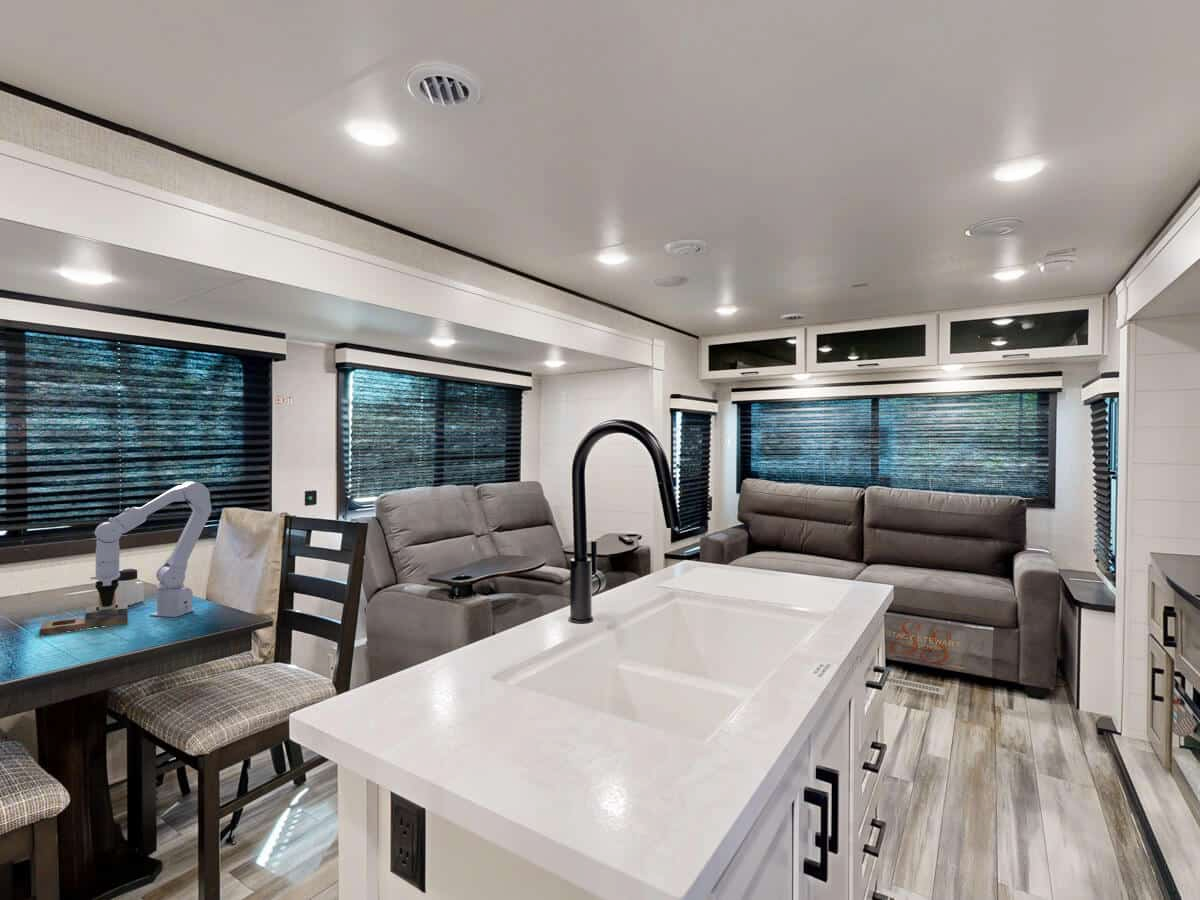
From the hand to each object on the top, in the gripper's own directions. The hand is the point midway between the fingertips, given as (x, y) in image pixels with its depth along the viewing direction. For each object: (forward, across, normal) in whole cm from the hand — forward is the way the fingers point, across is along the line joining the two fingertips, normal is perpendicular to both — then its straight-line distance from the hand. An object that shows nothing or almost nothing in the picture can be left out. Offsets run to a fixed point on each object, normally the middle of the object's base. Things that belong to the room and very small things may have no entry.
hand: (107, 604), depth 186 cm
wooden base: (+6, 0, -5) cm, 8 cm away
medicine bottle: (+6, -25, +5) cm, 26 cm away
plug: (+3, 0, 0) cm, 3 cm away
